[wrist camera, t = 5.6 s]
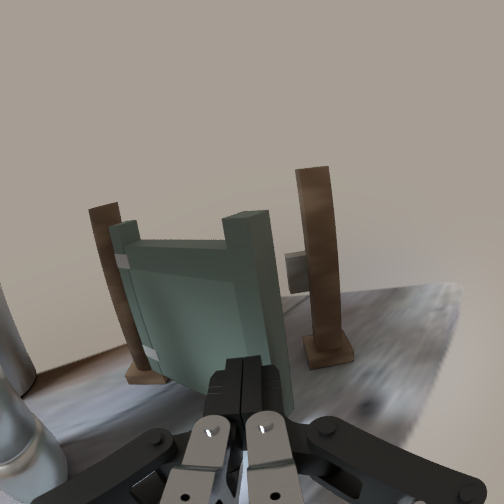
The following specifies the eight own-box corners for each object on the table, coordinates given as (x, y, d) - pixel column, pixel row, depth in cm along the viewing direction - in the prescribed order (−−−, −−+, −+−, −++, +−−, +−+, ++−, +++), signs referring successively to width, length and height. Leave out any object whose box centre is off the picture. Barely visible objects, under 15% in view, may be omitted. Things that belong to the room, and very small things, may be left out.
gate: (151, 370, 22) (107, 226, 19) (166, 360, 24) (127, 220, 21) (280, 426, 15) (246, 217, 12) (294, 408, 17) (269, 209, 13)
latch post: (301, 371, 22) (277, 172, 18) (295, 343, 26) (272, 172, 22) (353, 361, 22) (343, 164, 18) (340, 335, 26) (327, 165, 22)
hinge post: (128, 384, 23) (72, 214, 19) (140, 361, 26) (95, 207, 22) (165, 383, 23) (112, 203, 19) (174, 360, 26) (132, 198, 22)
